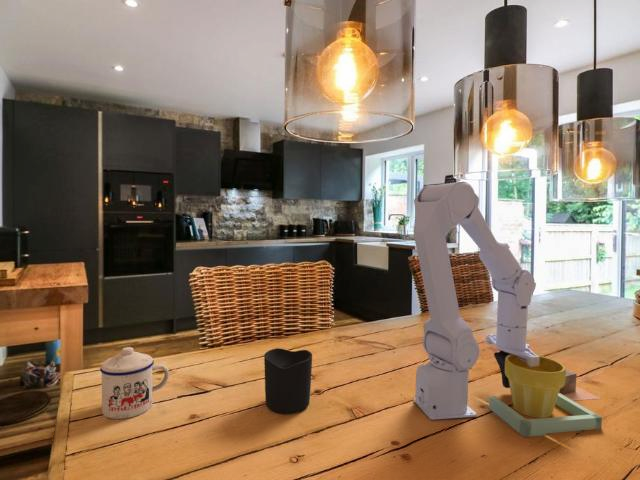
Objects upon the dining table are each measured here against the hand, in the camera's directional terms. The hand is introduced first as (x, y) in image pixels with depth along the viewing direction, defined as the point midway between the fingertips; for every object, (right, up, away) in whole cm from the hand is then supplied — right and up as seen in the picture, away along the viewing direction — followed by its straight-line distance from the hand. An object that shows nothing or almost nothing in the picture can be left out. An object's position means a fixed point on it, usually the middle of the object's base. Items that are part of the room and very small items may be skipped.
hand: (508, 386), depth 83 cm
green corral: (+2, -2, -10) cm, 10 cm away
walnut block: (+13, -2, +2) cm, 13 cm away
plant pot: (+1, -2, -7) cm, 7 cm away
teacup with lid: (-76, -1, -8) cm, 76 cm away
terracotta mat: (+13, -2, +2) cm, 13 cm away
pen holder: (-47, -1, -6) cm, 47 cm away
